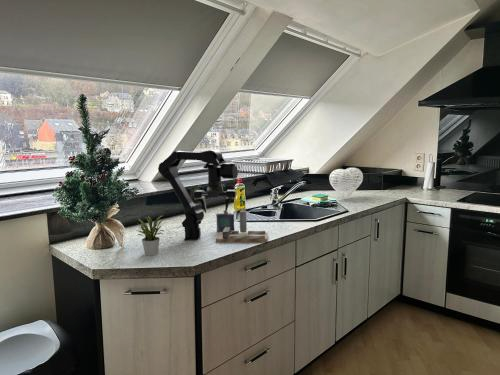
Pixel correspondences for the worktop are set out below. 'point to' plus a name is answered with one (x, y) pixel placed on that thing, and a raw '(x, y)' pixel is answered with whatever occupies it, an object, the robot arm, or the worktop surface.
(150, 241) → the house plant
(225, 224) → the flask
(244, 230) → the handle
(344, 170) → the heart
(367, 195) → the worktop surface
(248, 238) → the bench
